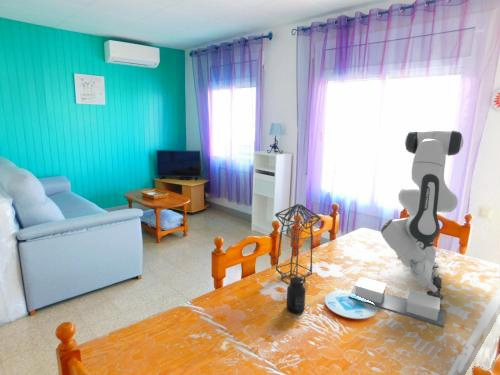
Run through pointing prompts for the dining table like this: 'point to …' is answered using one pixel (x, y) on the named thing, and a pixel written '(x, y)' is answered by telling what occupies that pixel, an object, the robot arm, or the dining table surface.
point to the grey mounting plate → (401, 301)
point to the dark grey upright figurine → (437, 294)
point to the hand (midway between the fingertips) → (436, 285)
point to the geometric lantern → (297, 236)
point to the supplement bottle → (296, 296)
